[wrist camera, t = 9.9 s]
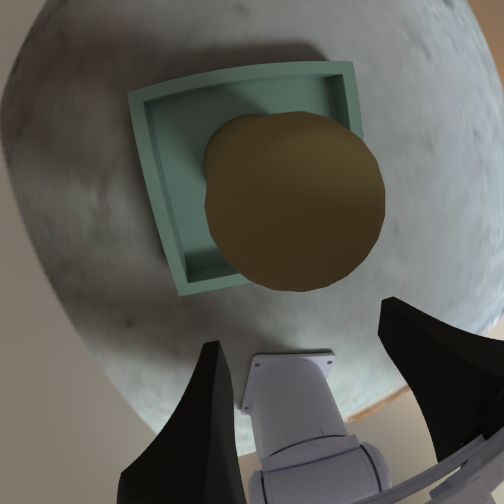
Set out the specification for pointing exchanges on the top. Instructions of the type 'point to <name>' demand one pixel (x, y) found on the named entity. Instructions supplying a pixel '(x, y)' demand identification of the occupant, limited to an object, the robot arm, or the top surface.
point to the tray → (198, 135)
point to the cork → (292, 199)
